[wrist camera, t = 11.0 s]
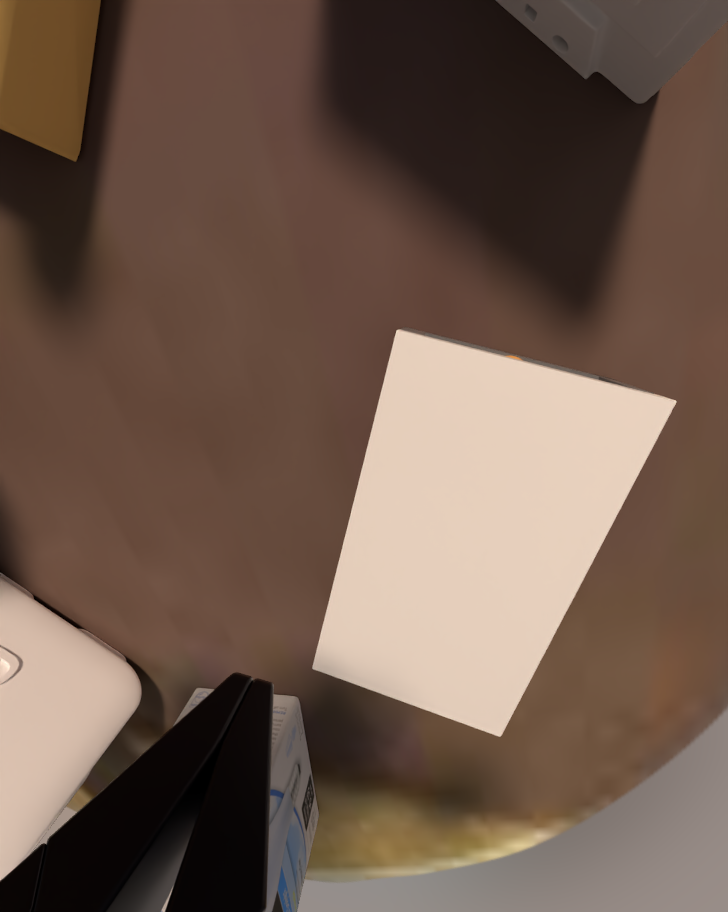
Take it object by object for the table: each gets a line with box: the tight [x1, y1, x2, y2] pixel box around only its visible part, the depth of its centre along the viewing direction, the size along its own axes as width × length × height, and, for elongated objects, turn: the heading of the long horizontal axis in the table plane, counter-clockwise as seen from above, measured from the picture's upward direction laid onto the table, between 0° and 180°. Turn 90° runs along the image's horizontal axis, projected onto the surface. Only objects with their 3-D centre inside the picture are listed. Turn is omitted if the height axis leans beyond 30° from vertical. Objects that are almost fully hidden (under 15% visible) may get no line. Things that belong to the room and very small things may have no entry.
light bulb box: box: [161, 688, 319, 912], centre depth 20 cm, size 11×7×11 cm, turn 5°
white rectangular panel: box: [312, 329, 677, 737], centre depth 14 cm, size 8×14×1 cm, turn 167°
